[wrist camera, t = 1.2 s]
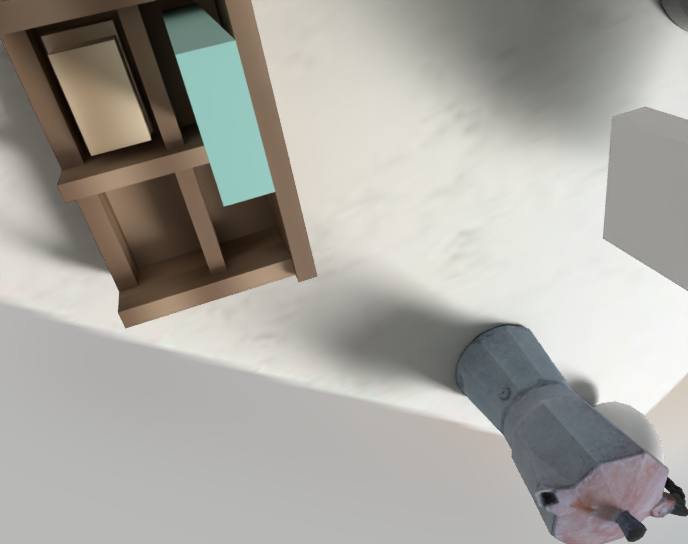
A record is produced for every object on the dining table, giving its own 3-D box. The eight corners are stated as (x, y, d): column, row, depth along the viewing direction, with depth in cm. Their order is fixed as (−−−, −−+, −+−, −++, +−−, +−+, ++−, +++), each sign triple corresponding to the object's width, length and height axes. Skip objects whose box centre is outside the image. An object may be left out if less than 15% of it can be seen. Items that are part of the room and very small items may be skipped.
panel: (196, 2, 32) (235, 40, 19) (224, 100, 35) (275, 191, 22) (160, 10, 32) (175, 54, 19) (192, 108, 35) (223, 206, 21)
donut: (582, 450, 67) (645, 522, 59) (558, 452, 66) (619, 525, 57) (617, 381, 63) (690, 448, 54) (592, 382, 61) (663, 450, 53)
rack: (220, -48, 33) (239, -48, 26) (291, 228, 42) (317, 276, 36) (2, -1, 31) (-33, 12, 25) (127, 277, 40) (125, 337, 34)
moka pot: (448, 312, 51) (599, 489, 34) (581, 323, 57) (766, 479, 40) (415, 398, 55) (536, 595, 38) (543, 400, 60) (696, 572, 44)
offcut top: (115, 35, 30) (114, 39, 28) (150, 130, 33) (151, 140, 31) (52, 49, 30) (47, 55, 28) (94, 145, 32) (91, 155, 31)
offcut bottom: (113, 16, 31) (112, 20, 30) (152, 123, 35) (153, 131, 33) (46, 31, 31) (40, 36, 29) (91, 138, 34) (89, 148, 32)
